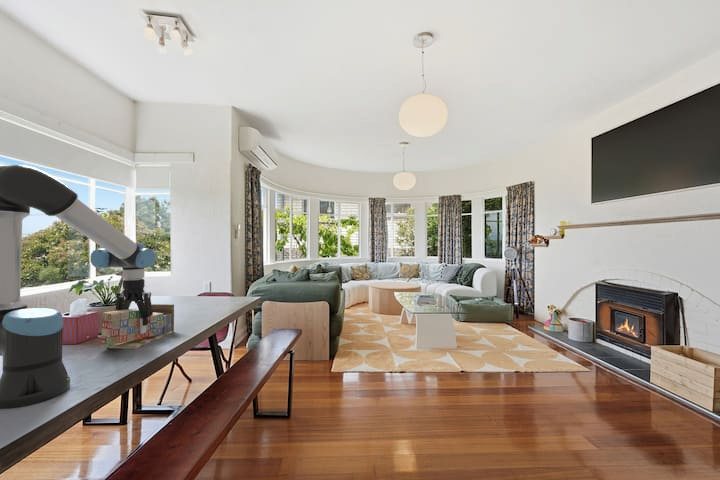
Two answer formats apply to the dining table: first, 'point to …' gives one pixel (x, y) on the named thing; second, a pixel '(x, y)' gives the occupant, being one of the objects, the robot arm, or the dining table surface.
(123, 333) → the stack of blocks
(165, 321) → the alphabet block box
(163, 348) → the dining table surface
